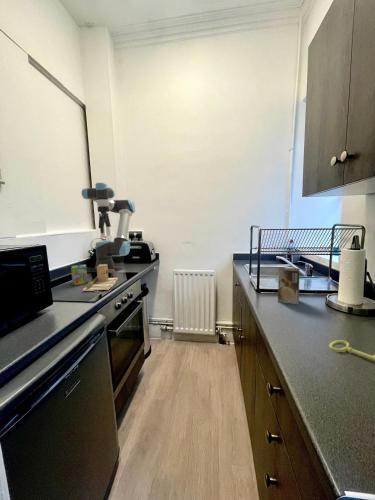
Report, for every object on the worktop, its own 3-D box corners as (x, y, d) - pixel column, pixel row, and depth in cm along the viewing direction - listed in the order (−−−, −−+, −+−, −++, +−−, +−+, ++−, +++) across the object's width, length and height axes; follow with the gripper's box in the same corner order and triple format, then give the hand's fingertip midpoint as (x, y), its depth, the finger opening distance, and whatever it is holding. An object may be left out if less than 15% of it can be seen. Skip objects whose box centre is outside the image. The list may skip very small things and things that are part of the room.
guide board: (95, 280, 153) (94, 275, 152) (117, 279, 154) (117, 274, 153) (82, 292, 131) (82, 286, 130) (109, 290, 132) (108, 284, 131)
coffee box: (298, 300, 110) (300, 268, 107) (298, 304, 104) (300, 271, 101) (278, 297, 114) (279, 266, 111) (277, 301, 108) (278, 269, 106)
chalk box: (73, 282, 151) (70, 260, 149) (87, 280, 155) (85, 259, 153) (72, 286, 143) (69, 263, 140) (88, 283, 147) (85, 261, 144)
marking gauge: (100, 279, 151) (99, 264, 149) (116, 278, 151) (114, 263, 150) (98, 281, 145) (96, 266, 143) (113, 280, 146) (112, 265, 144)
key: (378, 366, 63) (379, 359, 63) (327, 350, 71) (328, 344, 71) (378, 353, 69) (378, 347, 68) (330, 340, 76) (331, 334, 76)
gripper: (102, 206, 167) (105, 235, 170) (91, 205, 142) (94, 239, 146) (113, 206, 167) (115, 234, 171) (103, 205, 143) (106, 238, 146)
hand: (106, 236), depth 158 cm, fingers open, 13 cm apart
